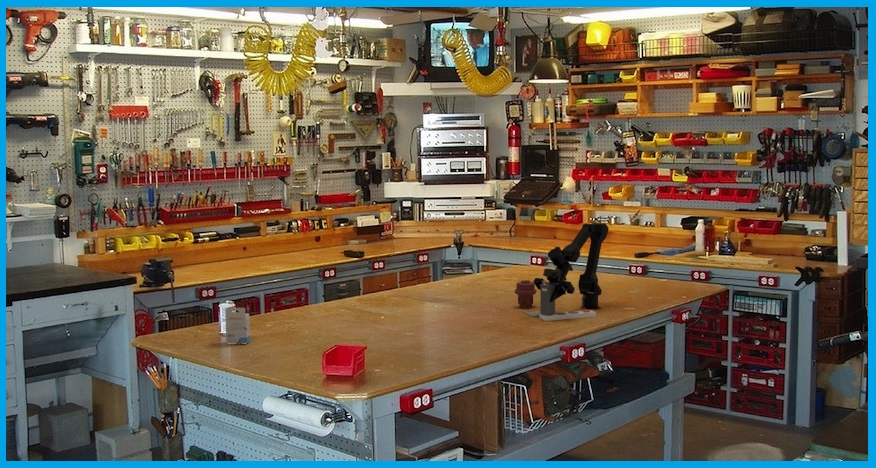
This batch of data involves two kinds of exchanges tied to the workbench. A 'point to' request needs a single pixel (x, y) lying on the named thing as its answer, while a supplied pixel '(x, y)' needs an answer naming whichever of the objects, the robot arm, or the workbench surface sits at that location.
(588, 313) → the power strip
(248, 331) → the ink box
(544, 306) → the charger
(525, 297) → the mechanical component
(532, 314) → the mat
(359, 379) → the workbench surface
